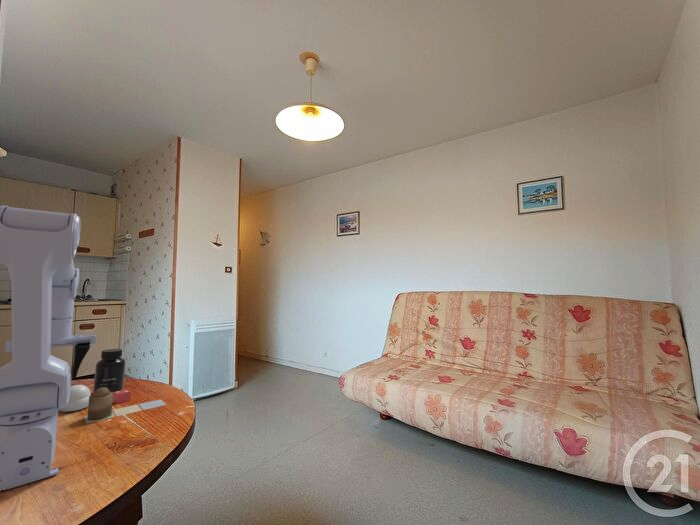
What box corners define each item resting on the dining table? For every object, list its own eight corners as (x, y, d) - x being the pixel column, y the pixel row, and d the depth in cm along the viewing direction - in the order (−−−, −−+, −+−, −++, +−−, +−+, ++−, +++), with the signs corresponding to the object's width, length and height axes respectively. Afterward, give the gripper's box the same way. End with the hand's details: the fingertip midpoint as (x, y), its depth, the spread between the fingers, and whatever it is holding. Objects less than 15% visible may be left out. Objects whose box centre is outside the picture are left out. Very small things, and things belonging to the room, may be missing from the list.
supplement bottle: (103, 398, 85) (107, 353, 85) (87, 395, 87) (90, 351, 88) (129, 390, 91) (131, 348, 92) (112, 387, 93) (115, 347, 94)
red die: (130, 403, 82) (130, 391, 82) (117, 406, 79) (117, 394, 79) (124, 400, 83) (125, 388, 83) (111, 404, 81) (112, 392, 81)
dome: (91, 408, 76) (92, 385, 76) (59, 415, 72) (61, 390, 72) (88, 402, 80) (90, 380, 80) (58, 408, 76) (60, 384, 76)
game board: (170, 410, 77) (170, 407, 77) (86, 431, 66) (87, 428, 66) (158, 398, 85) (158, 396, 85) (81, 415, 74) (81, 412, 74)
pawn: (112, 416, 72) (115, 388, 72) (88, 422, 69) (90, 392, 69) (110, 410, 75) (112, 383, 75) (86, 415, 72) (89, 386, 72)
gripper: (95, 314, 77) (90, 370, 76) (9, 318, 67) (2, 383, 66) (99, 317, 72) (94, 377, 71) (6, 322, 62) (0, 391, 61)
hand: (50, 380), depth 68 cm, fingers open, 7 cm apart
